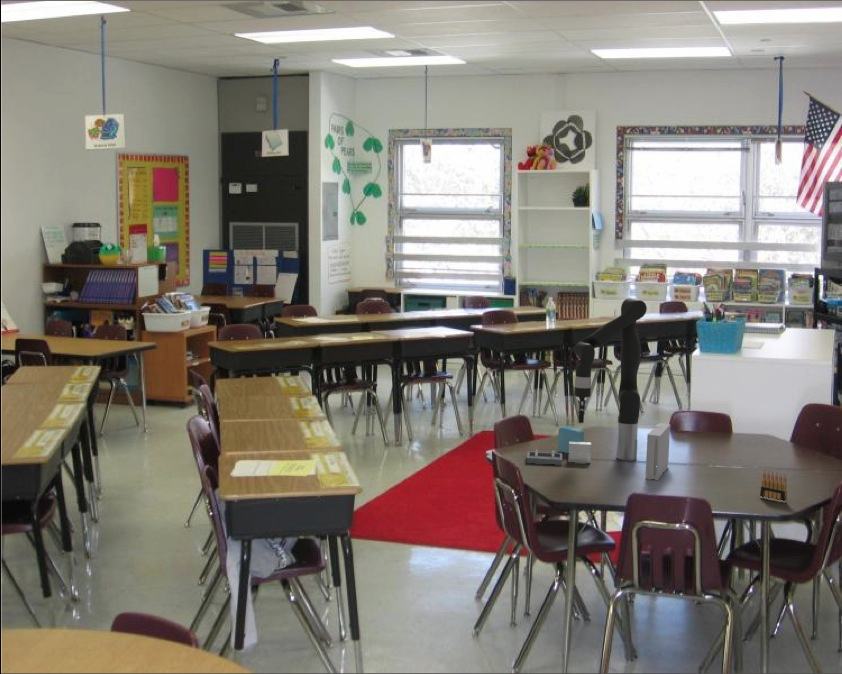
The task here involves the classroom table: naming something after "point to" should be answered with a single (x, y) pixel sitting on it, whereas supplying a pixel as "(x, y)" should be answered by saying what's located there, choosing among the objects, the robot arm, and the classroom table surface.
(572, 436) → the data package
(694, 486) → the classroom table surface
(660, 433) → the game console
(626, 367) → the robot arm
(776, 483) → the ammunition clip
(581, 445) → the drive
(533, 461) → the tray
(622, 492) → the classroom table surface
